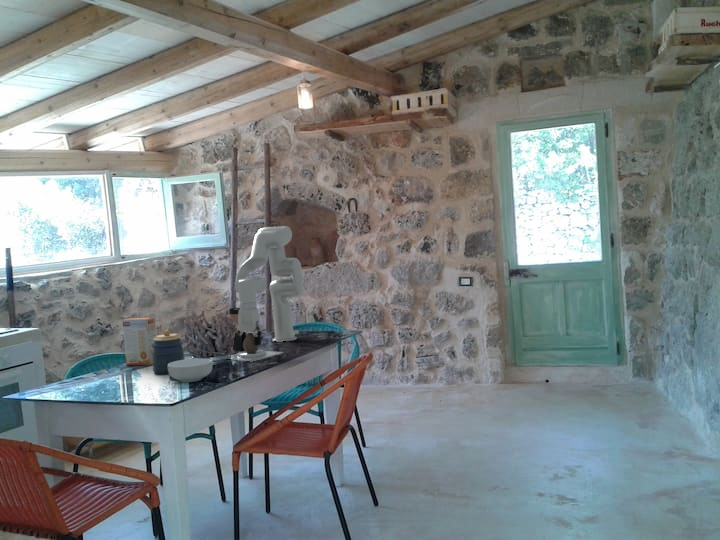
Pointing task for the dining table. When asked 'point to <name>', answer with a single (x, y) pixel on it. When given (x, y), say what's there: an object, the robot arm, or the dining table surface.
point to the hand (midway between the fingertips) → (251, 344)
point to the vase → (250, 343)
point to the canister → (166, 351)
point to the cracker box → (139, 340)
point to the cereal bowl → (190, 369)
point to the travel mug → (237, 339)
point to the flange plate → (253, 355)
